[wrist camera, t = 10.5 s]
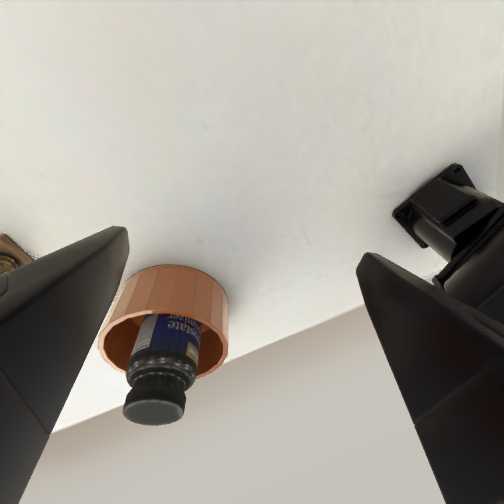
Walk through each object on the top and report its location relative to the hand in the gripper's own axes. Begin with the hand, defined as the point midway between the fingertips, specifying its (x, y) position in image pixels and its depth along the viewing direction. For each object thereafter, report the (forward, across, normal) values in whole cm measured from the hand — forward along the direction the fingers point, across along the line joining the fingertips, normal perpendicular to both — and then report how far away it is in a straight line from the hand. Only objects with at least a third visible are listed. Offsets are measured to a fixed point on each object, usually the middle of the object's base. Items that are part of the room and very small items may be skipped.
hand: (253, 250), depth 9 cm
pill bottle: (+13, +5, +18) cm, 22 cm away
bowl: (+13, +5, +18) cm, 23 cm away
